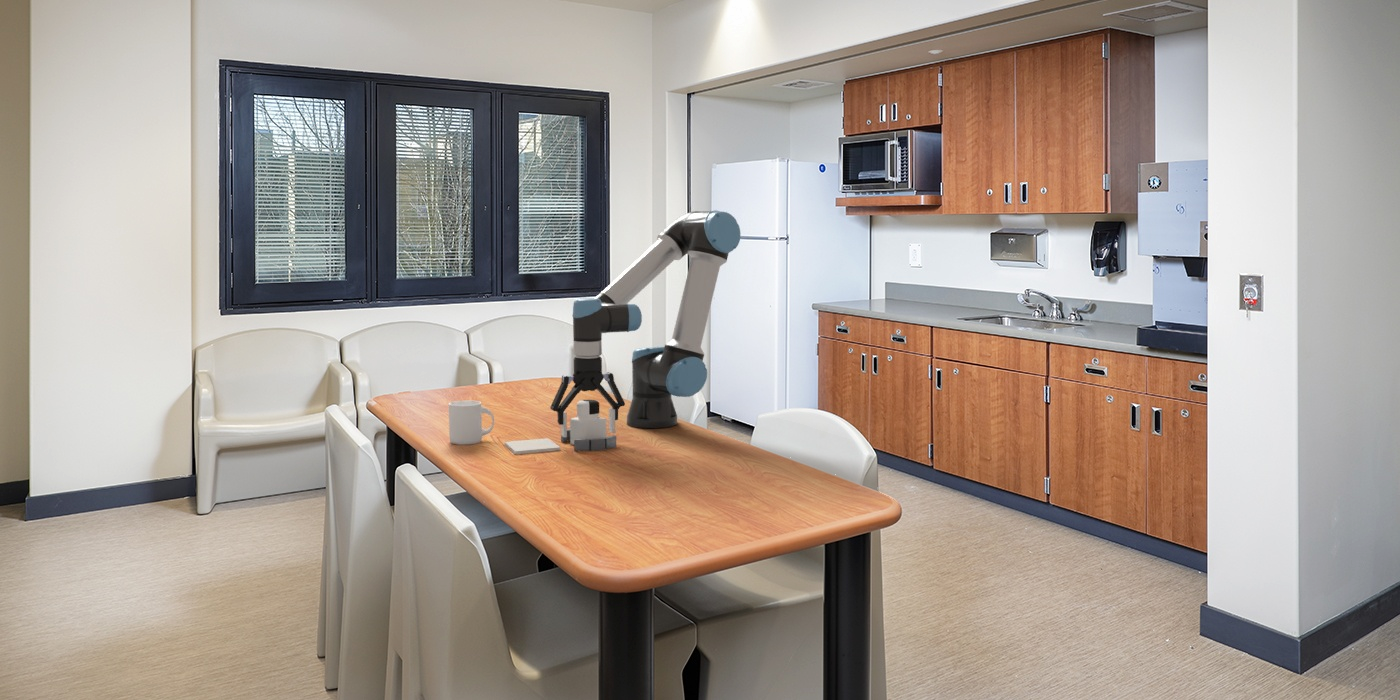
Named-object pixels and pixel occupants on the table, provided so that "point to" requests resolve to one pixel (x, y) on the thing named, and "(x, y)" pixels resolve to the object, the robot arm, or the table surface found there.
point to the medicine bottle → (587, 422)
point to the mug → (467, 422)
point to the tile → (532, 446)
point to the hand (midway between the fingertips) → (588, 434)
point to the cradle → (591, 443)
